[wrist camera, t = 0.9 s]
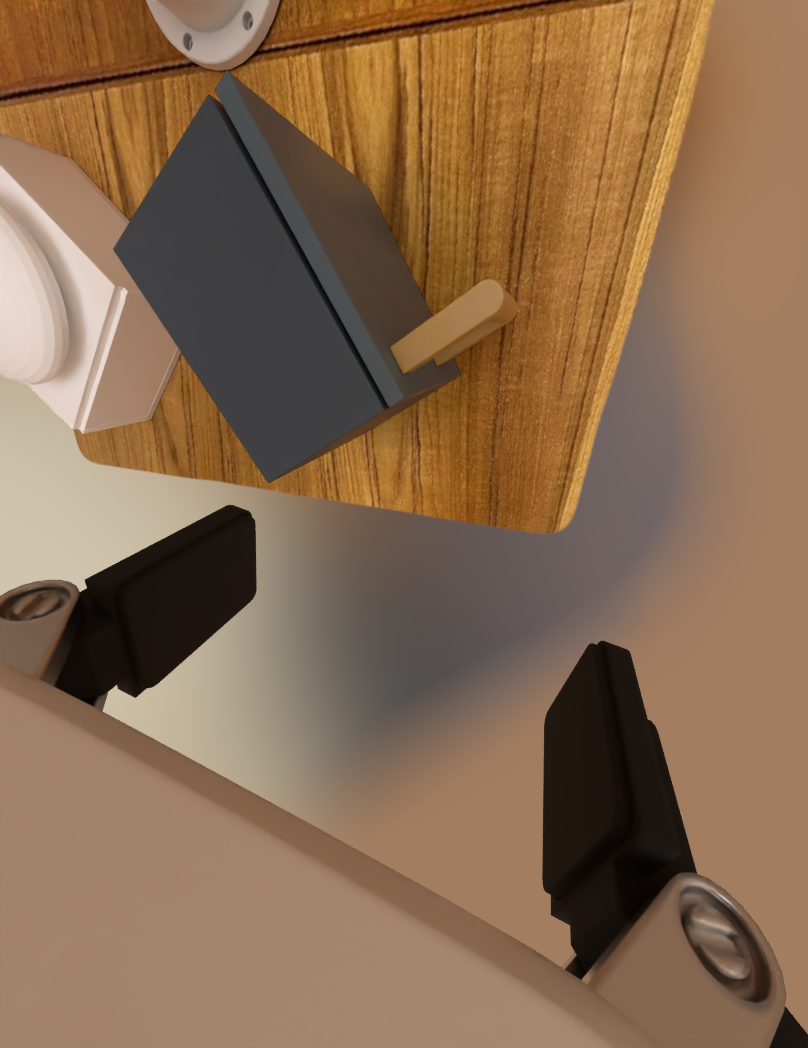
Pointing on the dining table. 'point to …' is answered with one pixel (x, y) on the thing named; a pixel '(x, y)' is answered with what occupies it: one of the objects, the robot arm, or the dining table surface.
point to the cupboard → (248, 303)
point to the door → (361, 257)
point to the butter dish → (73, 297)
